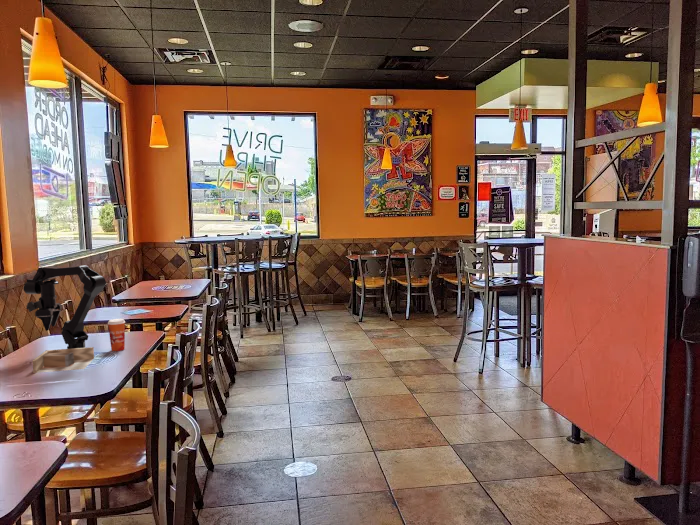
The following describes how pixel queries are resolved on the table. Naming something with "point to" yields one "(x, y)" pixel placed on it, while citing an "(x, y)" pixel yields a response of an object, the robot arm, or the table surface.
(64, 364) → the walnut block
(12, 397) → the table surface
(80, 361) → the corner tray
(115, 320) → the paper cup
